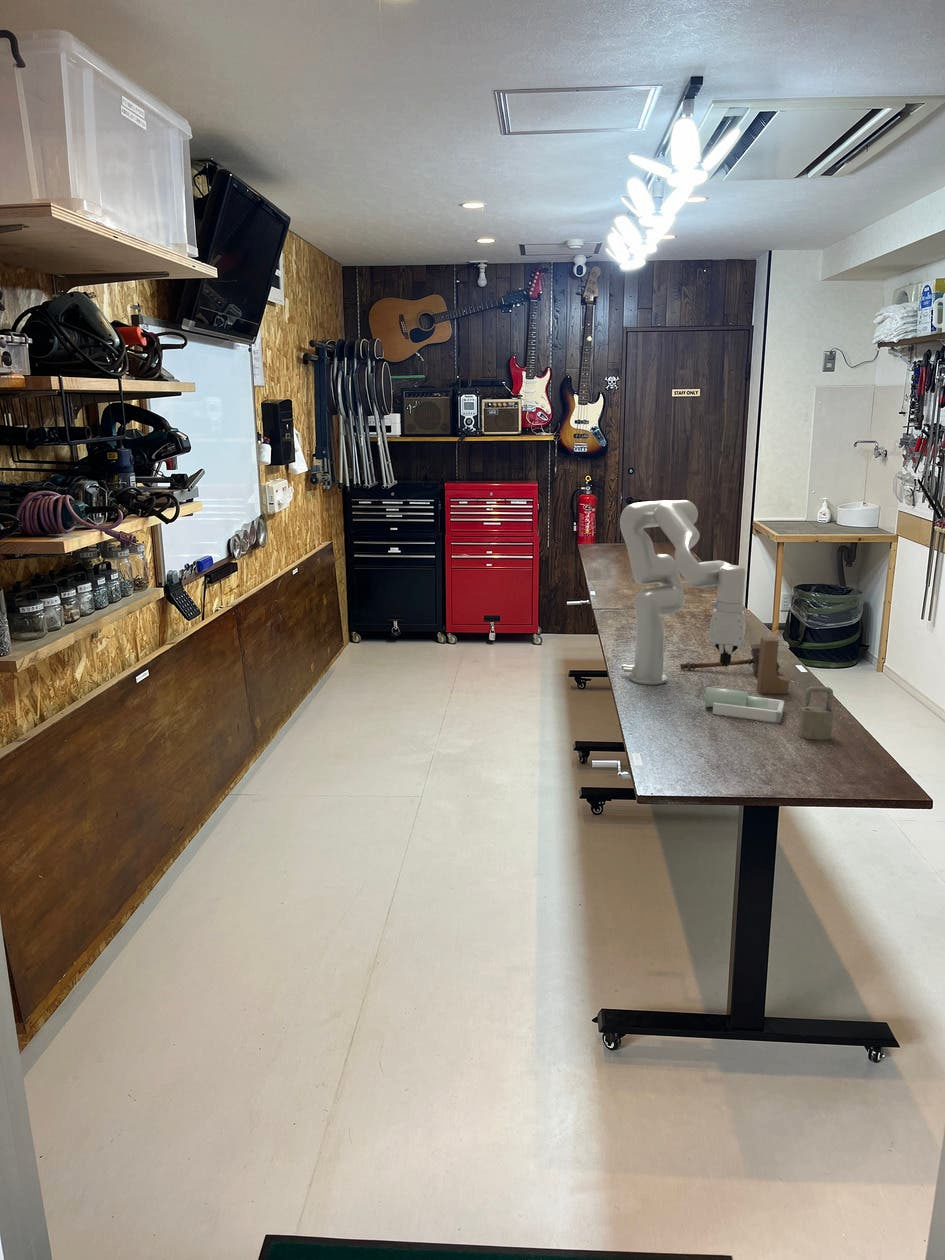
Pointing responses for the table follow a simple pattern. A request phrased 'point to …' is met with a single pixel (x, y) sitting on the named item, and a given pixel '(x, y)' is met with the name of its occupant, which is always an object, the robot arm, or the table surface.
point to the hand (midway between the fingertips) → (725, 665)
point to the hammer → (732, 662)
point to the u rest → (753, 711)
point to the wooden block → (770, 669)
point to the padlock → (816, 716)
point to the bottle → (732, 698)
